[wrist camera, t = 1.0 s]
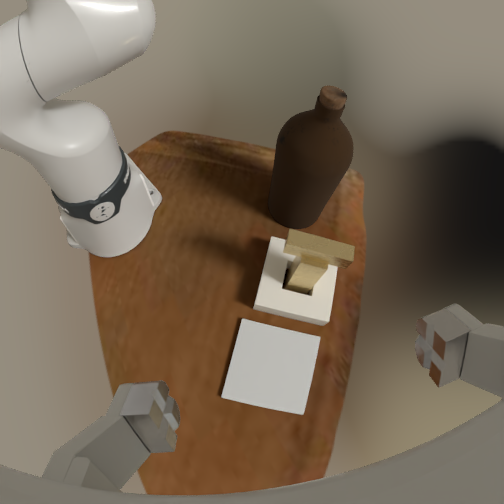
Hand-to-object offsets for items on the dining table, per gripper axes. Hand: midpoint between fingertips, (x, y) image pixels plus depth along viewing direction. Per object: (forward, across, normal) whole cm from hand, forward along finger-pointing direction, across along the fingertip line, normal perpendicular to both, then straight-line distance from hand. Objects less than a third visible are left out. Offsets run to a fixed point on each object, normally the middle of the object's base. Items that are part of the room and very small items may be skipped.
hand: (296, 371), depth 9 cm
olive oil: (+46, -7, +4) cm, 47 cm away
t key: (+37, -4, +14) cm, 39 cm away
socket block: (+37, -4, +14) cm, 39 cm away
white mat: (+28, +3, +22) cm, 36 cm away
